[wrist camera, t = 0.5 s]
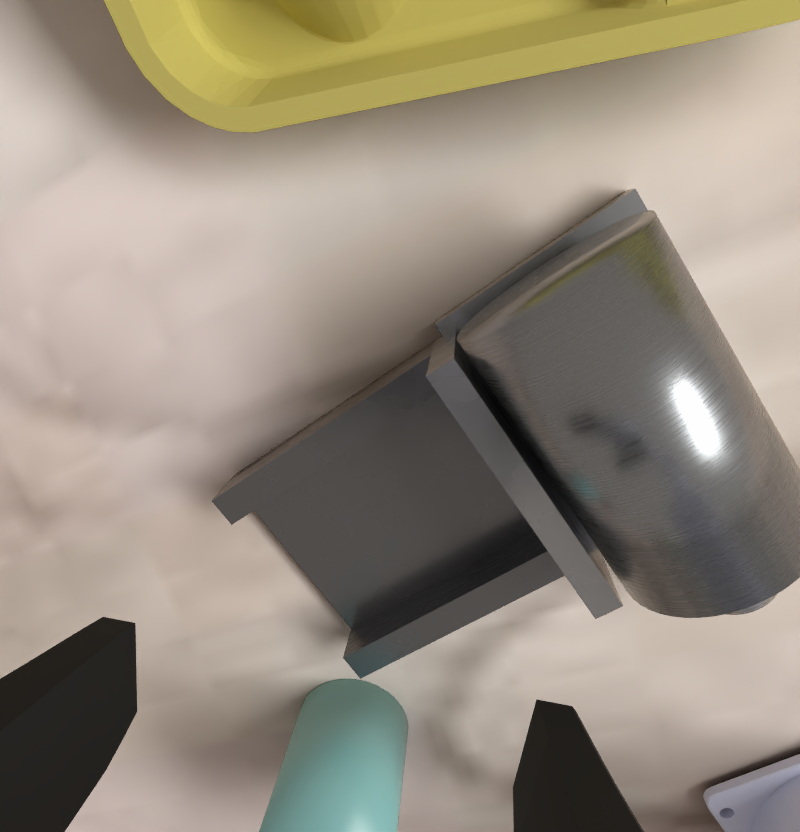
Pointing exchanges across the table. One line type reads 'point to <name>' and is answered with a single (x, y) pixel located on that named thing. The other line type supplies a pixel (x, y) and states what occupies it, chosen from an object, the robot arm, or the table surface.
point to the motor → (542, 456)
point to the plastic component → (393, 47)
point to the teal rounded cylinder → (342, 763)
